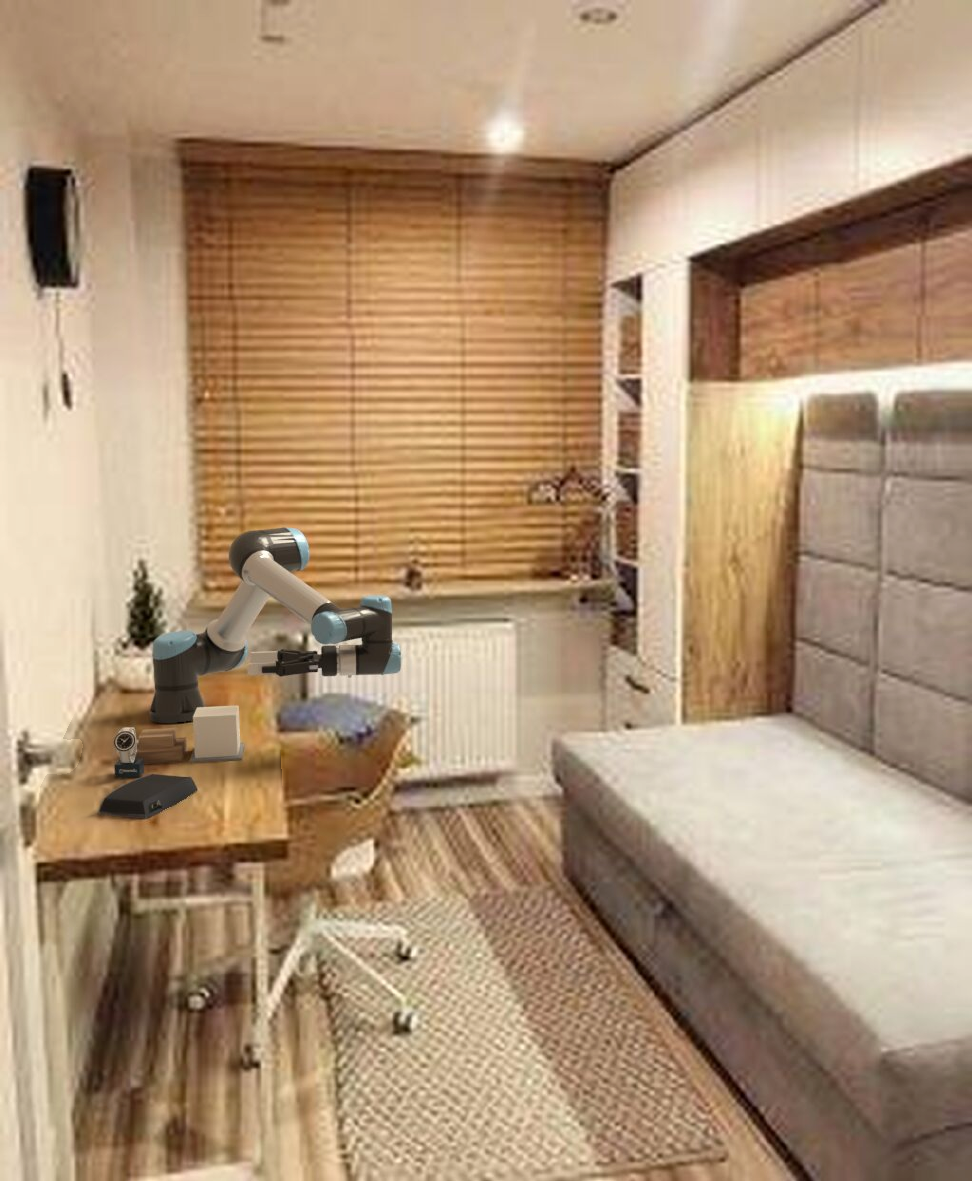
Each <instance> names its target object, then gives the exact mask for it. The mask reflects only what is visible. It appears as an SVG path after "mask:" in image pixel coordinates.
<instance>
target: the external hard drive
mask: <svg viewBox="0 0 972 1181" xmlns="http://www.w3.org/2000/svg"><path fill="white" fill-rule="evenodd" d="M197 790H198V787H197V785H196V783H195V781H194V779H193V778H192V777H191V776H179V775H167V774H158V773H157V774H156V773H150V774H147V775H142V776H141V777H138V778H136V779H133V780H131V781H128V782H126V783H124V784H122V785H120V786H119V787H117V788H115V789H114V790H112V791H111V792H108V794H107V795H105V796H104V797H103V799H102V801H101V803H100V805H99V808H98V811H97V814H98V815H103V816H112V817H113V816H114V817H122V818H123V817H124V818H132V819H133V818H134V819H142V820H143V819H144V820H145V819H146V820H147V819H150V818H152V817H154V816H156V815H159V814H160V812H161V813H163V812H164V811H163V810H165V809H167V808H169V807H171V808H172V807H174V806H176V805H178V804H180V803H181V802H183V801H184V799H185V800H186V799H188V798H189V797H191V796H192V795H191V794H193V793H194V792H195V791H197ZM197 792H198V791H197ZM195 793H196V792H195ZM195 793H194V794H195ZM194 794H193V795H194ZM190 795H191V796H190ZM188 796H189V797H188ZM187 797H188V798H187ZM182 800H183V801H182ZM180 801H181V802H180ZM179 802H180V803H179ZM177 803H178V804H177ZM169 809H170V808H169ZM167 810H168V809H167ZM162 811H163V812H162ZM165 811H166V810H165Z"/></svg>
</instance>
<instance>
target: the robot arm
mask: <svg viewBox="0 0 972 1181" xmlns="http://www.w3.org/2000/svg"><path fill="white" fill-rule="evenodd" d="M309 561H310V546H309V543H308V540H307V538H306V536H305V534H303V533H302V531H301V530H299V529H298V528H296V527H295V528H294V527H285V526H284V527H277V528H276V527H275V528H267V529H258V530H255V529H254V530H248V531H245V532H243V533H240V534H239V535H238V536H236V537H235V539H233V541H232V543H231V544H230V548H229V550H228V562H229V566H230V567H231V569H232V571H233V573H234V574H235V575H236V576H237V577H238V578H239V579H240V580H241V582H240V583H239V585H238V587H237V589H236V590H235V592H234V593H233V595H232V597H231V598H230V600H229V601H228V603H227V605H226V606H225V608H224V609H223V611H222V613H221V614H220V616H219V617H218V618H217V619H216V618H215V619H213V620H212V621H210V622H209V623H208V625H207V626H206V628H205V630H204V631H203V632H202V633H197V634H196V632H195V631H193V630H178V631H171V632H166V633H164V634H161V635H159V636H157V637H156V638H155V639H154V640H153V642H152V653H151V657H152V662H153V681H154V694H153V696H152V701H151V704H150V708H149V720H150V721H151V722H153V723H157V724H178V723H177V722H184V723H187V722H186V721H191V722H193V716H194V713H195V711H196V709H197V707H206V705H205V702H204V700H203V697H202V694H201V691H200V688H199V677H200V676H201V677H202V676H205V675H211V674H215V673H221V672H228V671H233V670H234V669H237V668H239V667H240V666H241V665H242V664H244V662H245V661H246V658H247V657H248V650H247V649H248V648H249V644H248V639H247V635H246V634H247V633H248V631H249V630H250V629H251V626H252V625H253V624H254V622H255V620H256V618H257V617H258V615H260V612H261V611H262V610H263V608H264V607H265V605H266V603H267V602H268V600H269V599H270V597H271V598H273V599H274V600H276V602H278V603H280V604H281V605H282V606H284V607H285V608H286V609H288V611H290V612H292V613H293V614H294V615H296V616H297V617H298V618H300V619H301V620H302V621H303V622H305V623H306V624H307V625H309V626H310V630H311V634H312V636H314V639H315V641H316V642H318V643H319V644H322V646H321V648H320V651H321V652H320V653H319V652H318V651H317V650H297V649H284V648H282V649H280V650H277V651H250V658H249V659H250V663H247V665H246V666H247V668H246V669H247V676H265V675H266V676H267V675H268V676H269V675H275V676H276V675H277V676H279V677H280V678H281V677H287V676H293V675H300V674H309V673H318V672H319V669H321V675H322V677H336V676H337V675H338V674H339V676H347V678H352V677H353V676H369V675H370V676H373V675H375V676H378V675H381V676H385V675H392V674H393V675H394V674H398V673H400V671H401V670H402V649H401V645H400V644H399V643H395V642H393V605H392V599H391V597H389V596H386V595H377V594H375V595H371V594H370V595H365V596H363V597H361V598H360V605H359V606H356V607H351V608H341V607H339V606H338V605H336V604H335V603H333V602H332V601H331V600H329V599H328V598H327V597H326V596H324V595H322V594H321V593H319V592H318V591H317V590H315V589H314V588H312V587H311V586H310V585H309V584H307V583H306V582H304V581H303V580H301V578H299V577H297V576H296V575H294V574H293V573H294V572H300V571H303V570H304V569H305V568H307V566H308V564H309ZM357 639H360V640H361V644H340V645H339V646H338V647H337V646H336V644H339V643H343V642H347V641H348V642H349V641H352V640H357Z"/></svg>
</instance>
